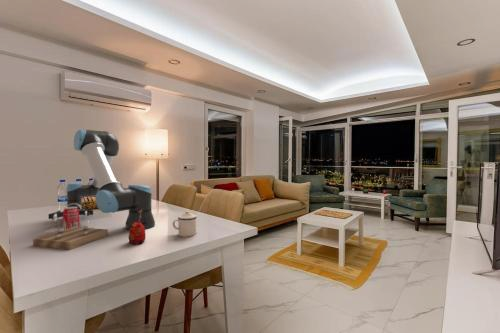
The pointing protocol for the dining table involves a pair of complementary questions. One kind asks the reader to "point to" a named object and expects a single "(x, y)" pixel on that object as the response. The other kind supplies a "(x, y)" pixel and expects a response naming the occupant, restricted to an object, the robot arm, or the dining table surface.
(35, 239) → the peg riser
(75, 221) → the soda can
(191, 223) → the teacup with lid
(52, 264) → the dining table surface
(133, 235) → the red clay folk toy
